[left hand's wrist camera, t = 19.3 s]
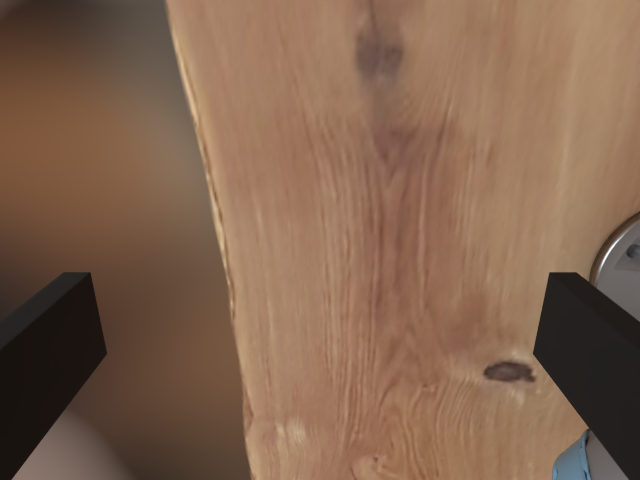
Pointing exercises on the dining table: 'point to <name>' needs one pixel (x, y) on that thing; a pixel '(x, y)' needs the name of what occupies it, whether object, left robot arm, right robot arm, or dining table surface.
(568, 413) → the dining table surface
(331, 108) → the dining table surface
